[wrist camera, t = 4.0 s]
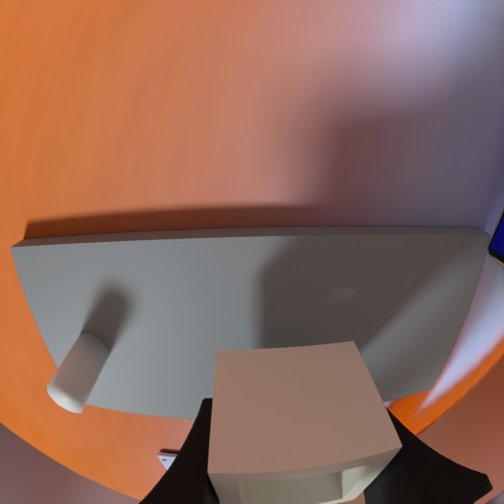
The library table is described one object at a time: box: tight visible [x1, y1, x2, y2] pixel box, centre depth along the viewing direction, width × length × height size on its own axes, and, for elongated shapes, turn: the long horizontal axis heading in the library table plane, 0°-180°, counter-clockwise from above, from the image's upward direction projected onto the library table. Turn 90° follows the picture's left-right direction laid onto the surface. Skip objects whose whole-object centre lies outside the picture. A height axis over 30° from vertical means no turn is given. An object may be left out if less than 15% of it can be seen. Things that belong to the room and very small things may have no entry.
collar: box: [208, 341, 402, 504], centre depth 9 cm, size 5×5×5 cm
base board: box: [10, 226, 490, 419], centre depth 12 cm, size 12×26×5 cm, turn 91°
